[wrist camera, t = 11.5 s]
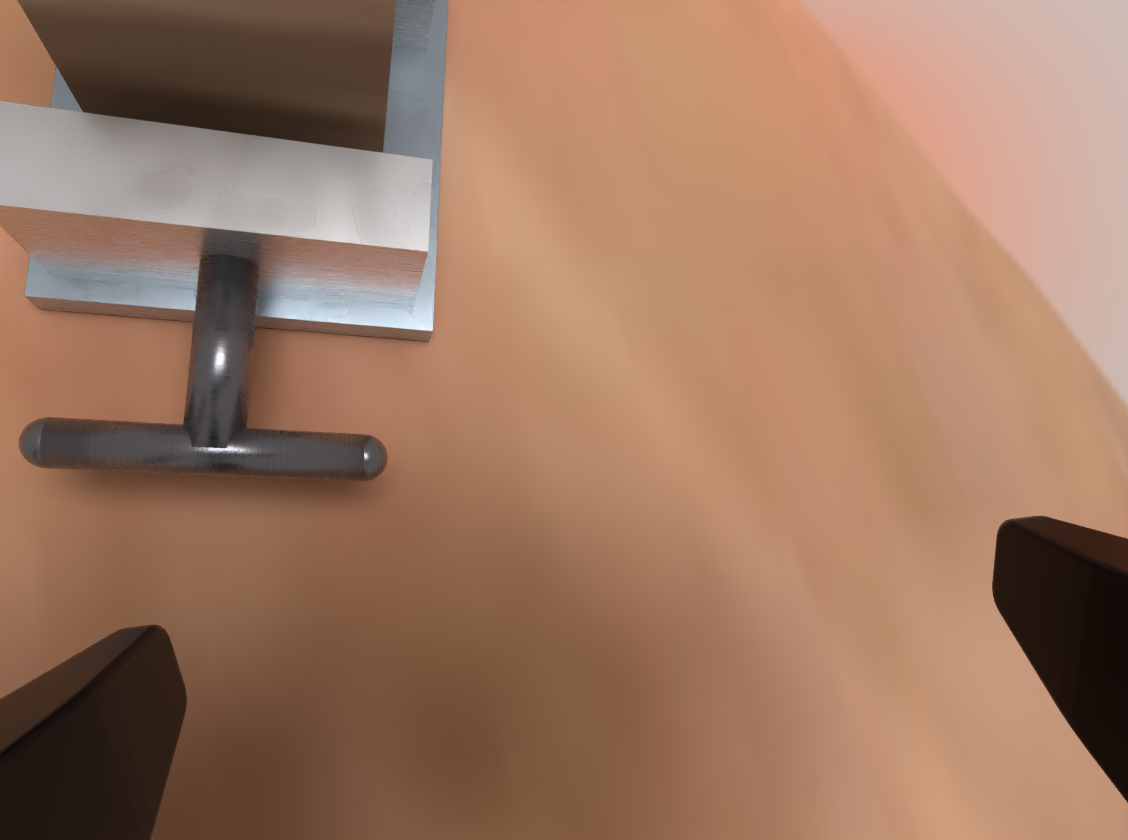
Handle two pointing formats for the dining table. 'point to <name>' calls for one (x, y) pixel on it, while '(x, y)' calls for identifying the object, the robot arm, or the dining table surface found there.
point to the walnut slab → (229, 64)
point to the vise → (229, 256)
